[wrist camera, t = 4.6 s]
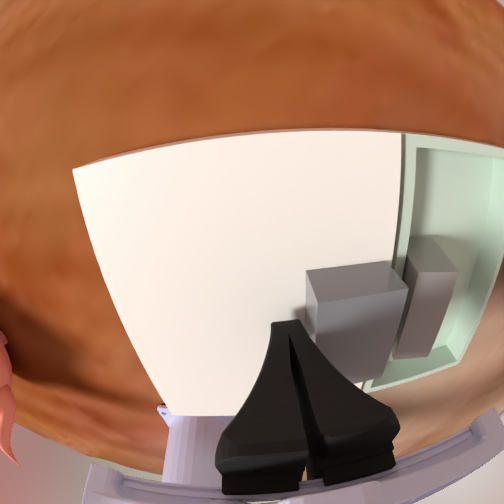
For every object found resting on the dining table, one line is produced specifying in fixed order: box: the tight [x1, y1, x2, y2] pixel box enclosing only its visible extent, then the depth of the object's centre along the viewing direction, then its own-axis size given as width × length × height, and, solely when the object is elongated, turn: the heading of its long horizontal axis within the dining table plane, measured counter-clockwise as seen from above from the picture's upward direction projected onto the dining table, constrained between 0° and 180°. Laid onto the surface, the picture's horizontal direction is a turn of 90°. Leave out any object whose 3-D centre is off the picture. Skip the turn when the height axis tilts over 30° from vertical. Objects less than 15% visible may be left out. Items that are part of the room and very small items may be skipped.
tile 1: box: [391, 237, 459, 360], centre depth 14 cm, size 6×4×2 cm
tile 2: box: [305, 260, 409, 384], centre depth 13 cm, size 6×4×2 cm, turn 6°
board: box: [73, 128, 401, 416], centre depth 15 cm, size 18×14×3 cm
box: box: [361, 129, 504, 393], centre depth 15 cm, size 18×10×3 cm, turn 6°
